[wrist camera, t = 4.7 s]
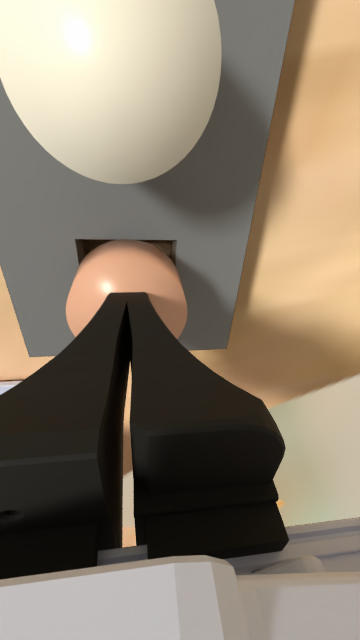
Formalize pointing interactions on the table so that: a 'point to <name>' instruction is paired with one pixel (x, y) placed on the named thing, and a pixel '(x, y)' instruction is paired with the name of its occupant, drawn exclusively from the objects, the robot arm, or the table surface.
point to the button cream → (112, 80)
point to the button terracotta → (126, 282)
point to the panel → (149, 196)
